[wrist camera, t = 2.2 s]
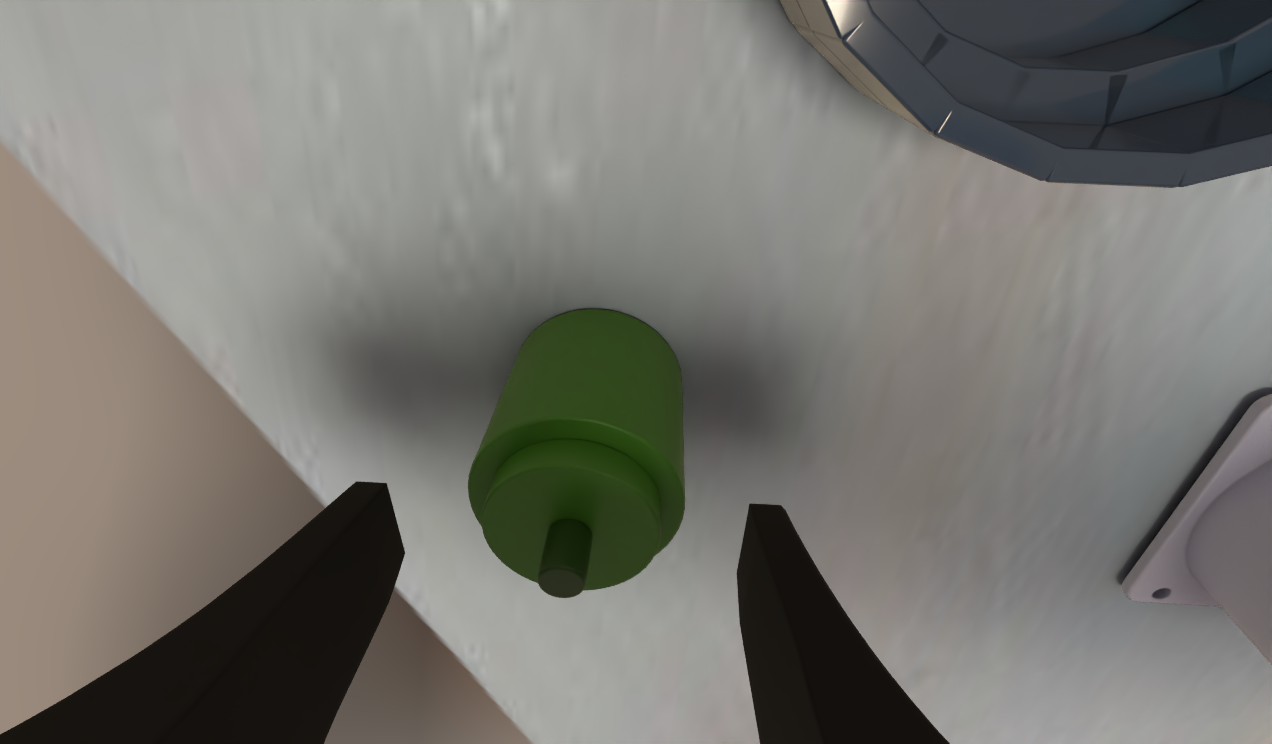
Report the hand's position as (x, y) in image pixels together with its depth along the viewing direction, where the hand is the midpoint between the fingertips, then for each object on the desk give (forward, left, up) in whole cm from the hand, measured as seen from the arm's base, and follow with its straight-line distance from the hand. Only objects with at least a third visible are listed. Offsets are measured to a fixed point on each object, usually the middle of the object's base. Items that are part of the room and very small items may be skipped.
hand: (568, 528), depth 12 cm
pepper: (0, 0, -5) cm, 5 cm away
